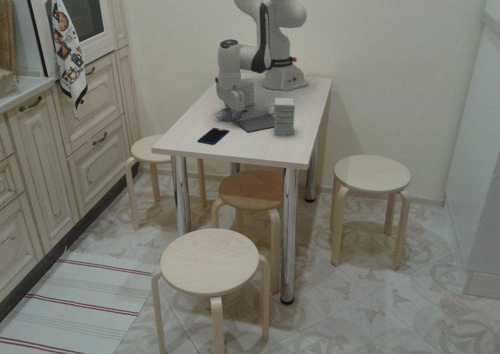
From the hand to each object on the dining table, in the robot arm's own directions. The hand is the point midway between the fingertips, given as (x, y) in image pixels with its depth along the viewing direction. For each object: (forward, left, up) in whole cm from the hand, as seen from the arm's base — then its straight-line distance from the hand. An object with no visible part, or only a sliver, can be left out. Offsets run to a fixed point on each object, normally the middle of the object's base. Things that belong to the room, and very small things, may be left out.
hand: (230, 114), depth 196 cm
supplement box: (-13, +21, -2) cm, 25 cm away
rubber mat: (-8, +10, -2) cm, 13 cm away
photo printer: (-11, -11, -2) cm, 16 cm away
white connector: (-18, +1, -2) cm, 18 cm away
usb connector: (0, 0, -2) cm, 2 cm away
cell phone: (+13, +13, -2) cm, 19 cm away
